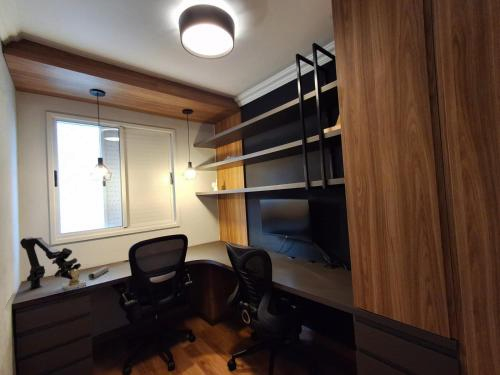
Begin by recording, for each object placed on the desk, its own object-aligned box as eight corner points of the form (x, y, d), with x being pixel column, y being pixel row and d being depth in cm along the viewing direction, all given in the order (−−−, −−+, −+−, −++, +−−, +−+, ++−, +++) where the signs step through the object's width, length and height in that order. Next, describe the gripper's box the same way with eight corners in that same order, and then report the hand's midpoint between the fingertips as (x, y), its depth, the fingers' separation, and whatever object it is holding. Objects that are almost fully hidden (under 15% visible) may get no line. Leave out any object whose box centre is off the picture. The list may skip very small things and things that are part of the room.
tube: (103, 266, 223) (87, 274, 198) (108, 264, 223) (93, 272, 198) (105, 272, 222) (89, 280, 198) (110, 269, 223) (95, 278, 198)
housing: (61, 287, 180) (61, 284, 180) (80, 282, 190) (80, 279, 190) (67, 290, 173) (67, 287, 173) (86, 285, 182) (86, 282, 183)
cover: (67, 286, 181) (66, 270, 181) (77, 283, 186) (77, 268, 187) (70, 288, 177) (69, 271, 177) (80, 285, 182) (80, 269, 183)
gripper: (57, 258, 174) (71, 273, 172) (78, 253, 192) (91, 266, 190) (48, 270, 174) (62, 285, 172) (70, 263, 193) (82, 276, 191)
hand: (75, 277), depth 181 cm, fingers closed on cover, 6 cm apart
